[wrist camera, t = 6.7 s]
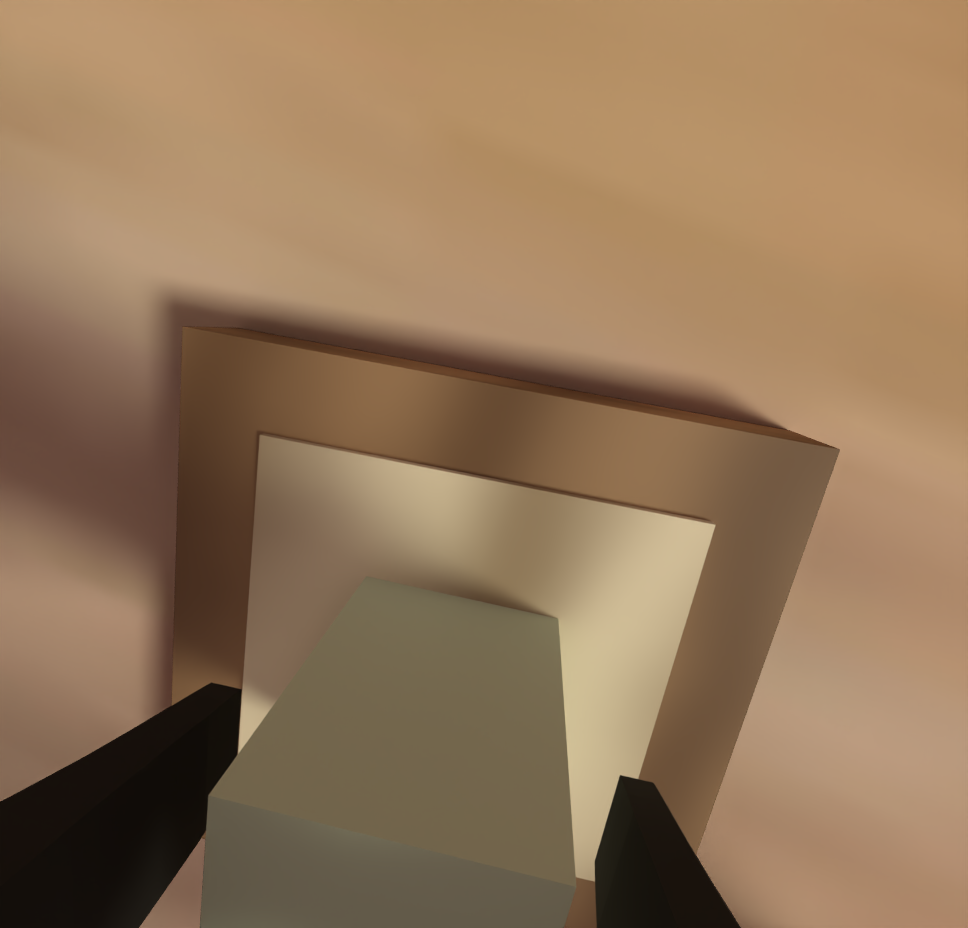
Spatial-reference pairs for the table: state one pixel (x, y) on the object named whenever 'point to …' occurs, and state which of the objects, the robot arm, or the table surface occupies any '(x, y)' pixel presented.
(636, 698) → the plinth
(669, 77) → the table surface
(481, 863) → the sage block
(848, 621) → the table surface
